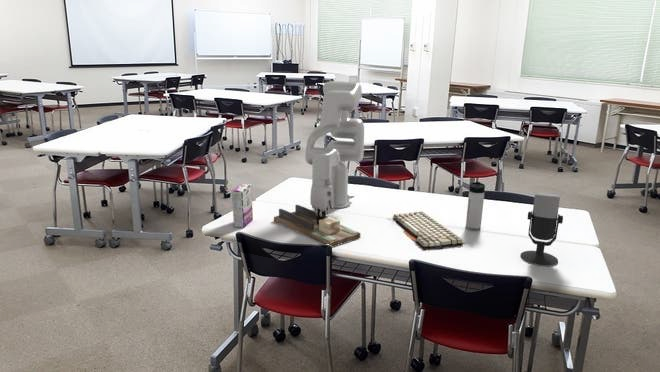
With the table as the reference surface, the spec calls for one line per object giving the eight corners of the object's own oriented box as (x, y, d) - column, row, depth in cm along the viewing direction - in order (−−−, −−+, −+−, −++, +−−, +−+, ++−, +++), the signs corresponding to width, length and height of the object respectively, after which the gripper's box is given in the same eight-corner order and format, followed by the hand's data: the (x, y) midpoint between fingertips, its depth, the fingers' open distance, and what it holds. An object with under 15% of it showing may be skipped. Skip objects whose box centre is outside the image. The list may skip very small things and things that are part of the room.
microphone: (556, 255, 187) (566, 192, 180) (558, 268, 175) (569, 202, 169) (520, 249, 191) (528, 188, 185) (520, 262, 180) (528, 197, 173)
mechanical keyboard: (385, 219, 224) (386, 212, 223) (423, 216, 229) (424, 209, 228) (424, 252, 189) (425, 244, 188) (468, 247, 195) (469, 239, 194)
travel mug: (480, 226, 216) (485, 182, 210) (480, 231, 210) (485, 186, 204) (466, 224, 218) (470, 180, 212) (465, 229, 212) (469, 184, 206)
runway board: (302, 213, 228) (302, 203, 227) (360, 237, 201) (360, 226, 199) (273, 221, 218) (273, 210, 216) (330, 247, 190) (331, 235, 189)
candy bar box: (242, 218, 220) (241, 183, 216) (253, 219, 219) (252, 184, 215) (232, 227, 210) (231, 190, 205) (243, 228, 209) (242, 191, 204)
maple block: (330, 227, 206) (330, 216, 205) (339, 231, 202) (339, 220, 200) (318, 230, 202) (319, 219, 201) (328, 234, 198) (328, 224, 197)
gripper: (340, 184, 197) (339, 227, 202) (316, 176, 208) (316, 217, 213) (326, 187, 193) (325, 231, 198) (302, 179, 204) (302, 221, 209)
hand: (320, 224), depth 205 cm, fingers closed
